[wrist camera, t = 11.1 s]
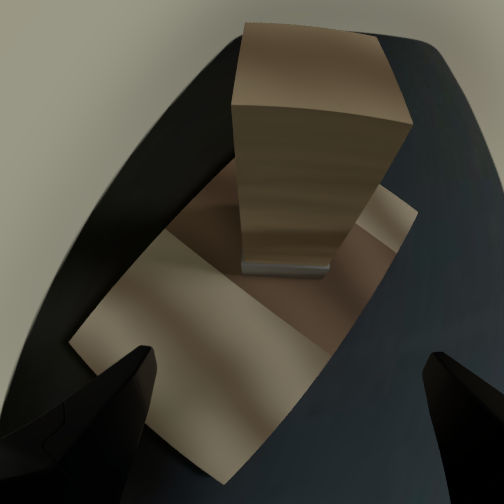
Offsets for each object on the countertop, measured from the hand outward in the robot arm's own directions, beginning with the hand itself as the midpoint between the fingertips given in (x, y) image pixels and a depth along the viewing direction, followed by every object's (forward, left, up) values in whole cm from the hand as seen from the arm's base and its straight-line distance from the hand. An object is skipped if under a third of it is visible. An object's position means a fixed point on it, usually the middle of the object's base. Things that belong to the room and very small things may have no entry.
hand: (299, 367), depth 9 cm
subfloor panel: (+3, +4, -10) cm, 11 cm away
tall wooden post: (+6, +4, -8) cm, 11 cm away
